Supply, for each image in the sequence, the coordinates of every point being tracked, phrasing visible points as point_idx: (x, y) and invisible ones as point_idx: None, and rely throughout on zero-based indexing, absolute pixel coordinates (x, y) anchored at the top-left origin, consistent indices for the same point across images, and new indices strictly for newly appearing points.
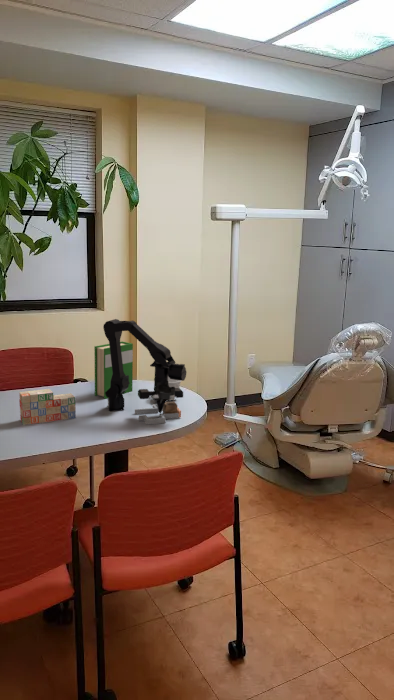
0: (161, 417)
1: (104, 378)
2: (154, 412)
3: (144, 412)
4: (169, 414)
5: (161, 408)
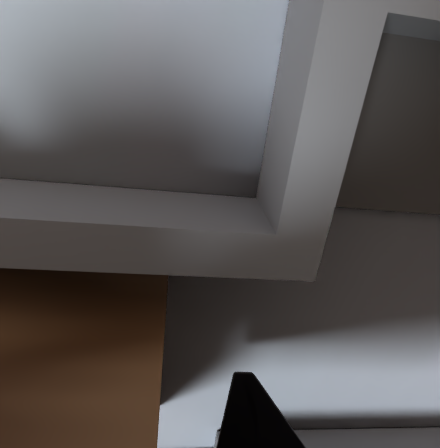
0: (340, 130)
1: None
2: None
3: (385, 443)
4: (116, 220)
5: (240, 442)
